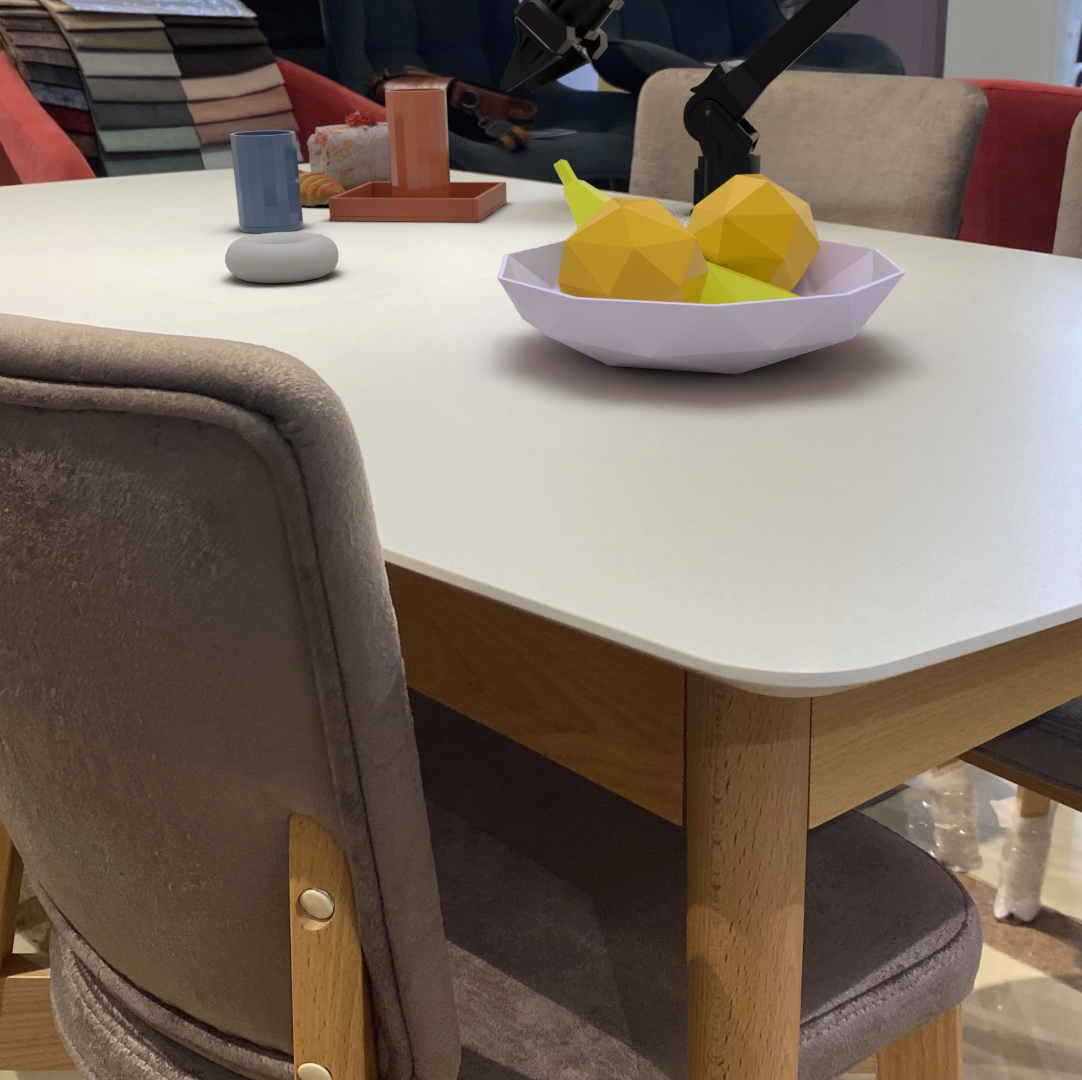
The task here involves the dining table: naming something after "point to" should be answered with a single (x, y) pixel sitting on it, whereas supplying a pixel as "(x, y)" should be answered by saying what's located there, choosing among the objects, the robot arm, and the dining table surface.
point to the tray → (418, 204)
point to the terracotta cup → (418, 143)
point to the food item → (351, 151)
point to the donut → (281, 257)
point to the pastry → (317, 188)
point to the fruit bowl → (696, 280)
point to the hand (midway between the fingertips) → (515, 89)
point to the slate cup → (267, 181)
